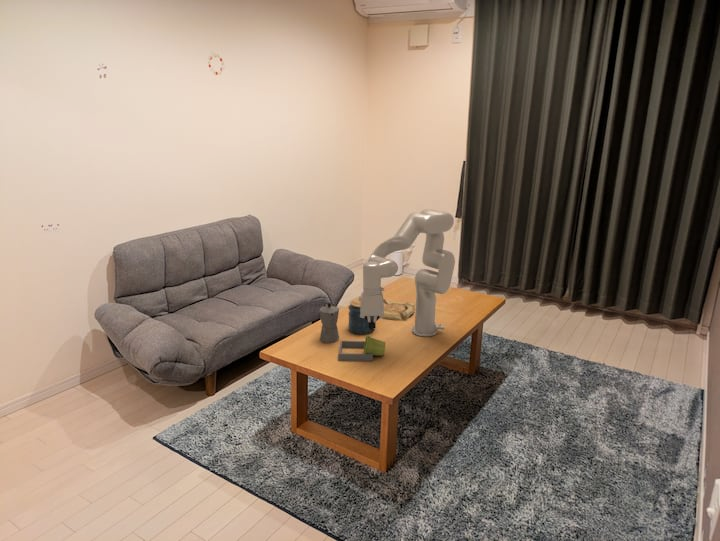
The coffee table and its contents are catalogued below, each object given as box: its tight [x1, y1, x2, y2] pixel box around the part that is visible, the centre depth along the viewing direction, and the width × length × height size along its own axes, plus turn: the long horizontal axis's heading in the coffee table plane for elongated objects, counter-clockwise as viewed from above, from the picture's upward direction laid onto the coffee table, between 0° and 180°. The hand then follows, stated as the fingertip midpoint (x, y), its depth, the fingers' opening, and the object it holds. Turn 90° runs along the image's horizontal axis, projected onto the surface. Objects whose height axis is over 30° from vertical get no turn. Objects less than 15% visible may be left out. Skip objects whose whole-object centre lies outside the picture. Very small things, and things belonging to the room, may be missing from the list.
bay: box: [337, 340, 374, 362], centre depth 228 cm, size 15×14×3 cm
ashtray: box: [381, 298, 416, 322], centre depth 276 cm, size 24×24×5 cm
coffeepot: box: [318, 302, 340, 344], centre depth 242 cm, size 15×9×18 cm, turn 16°
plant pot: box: [362, 334, 386, 357], centre depth 226 cm, size 9×9×9 cm
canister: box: [347, 295, 374, 335], centre depth 252 cm, size 13×13×18 cm
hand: (372, 329), depth 226 cm, fingers closed
